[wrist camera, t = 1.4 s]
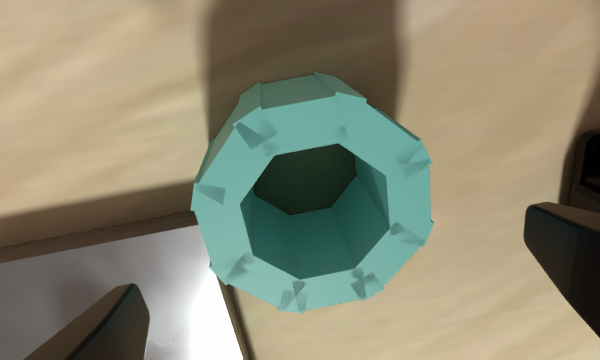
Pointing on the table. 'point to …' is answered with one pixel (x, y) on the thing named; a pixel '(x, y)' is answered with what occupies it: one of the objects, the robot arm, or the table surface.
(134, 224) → the gear board
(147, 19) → the table surface
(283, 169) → the table surface
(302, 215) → the teal blocky piece
